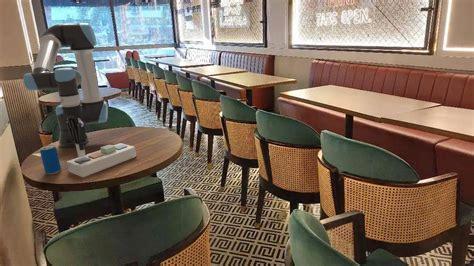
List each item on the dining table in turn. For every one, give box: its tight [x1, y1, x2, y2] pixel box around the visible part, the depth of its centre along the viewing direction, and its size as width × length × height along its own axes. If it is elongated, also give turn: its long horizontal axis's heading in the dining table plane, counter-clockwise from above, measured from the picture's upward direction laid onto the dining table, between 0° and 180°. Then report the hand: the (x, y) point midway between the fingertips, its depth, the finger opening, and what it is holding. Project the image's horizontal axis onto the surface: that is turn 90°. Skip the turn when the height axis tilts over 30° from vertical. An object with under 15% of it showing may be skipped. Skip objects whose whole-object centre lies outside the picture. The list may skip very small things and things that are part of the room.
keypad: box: [66, 142, 137, 178], centre depth 156 cm, size 12×28×5 cm, turn 143°
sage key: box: [99, 144, 116, 155], centre depth 158 cm, size 5×5×3 cm
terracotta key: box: [88, 152, 104, 159], centre depth 153 cm, size 5×5×3 cm
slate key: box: [115, 143, 127, 150], centre depth 163 cm, size 5×5×3 cm
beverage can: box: [39, 144, 62, 175], centre depth 148 cm, size 6×6×12 cm
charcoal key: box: [75, 157, 91, 164], centre depth 148 cm, size 5×5×3 cm
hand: (82, 156), depth 148 cm, fingers closed
